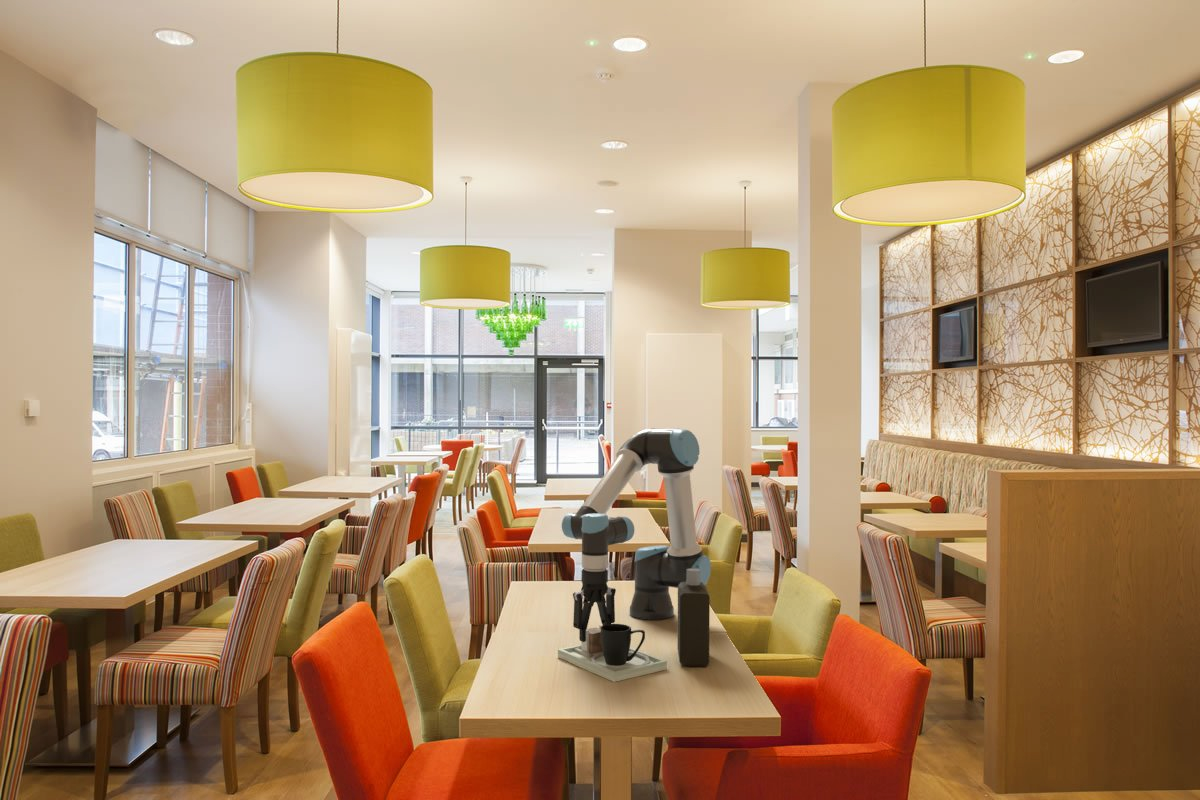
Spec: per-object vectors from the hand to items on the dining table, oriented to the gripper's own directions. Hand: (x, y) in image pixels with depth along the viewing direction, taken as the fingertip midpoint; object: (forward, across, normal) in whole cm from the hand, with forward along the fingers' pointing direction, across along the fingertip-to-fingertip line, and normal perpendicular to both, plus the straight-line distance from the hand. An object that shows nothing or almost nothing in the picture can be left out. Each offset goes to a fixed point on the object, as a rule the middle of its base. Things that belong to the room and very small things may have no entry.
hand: (594, 650), depth 233 cm
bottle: (+2, -21, +18) cm, 28 cm away
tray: (+2, 0, +8) cm, 8 cm away
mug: (+1, 0, +13) cm, 13 cm away
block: (0, 0, 0) cm, 0 cm away
